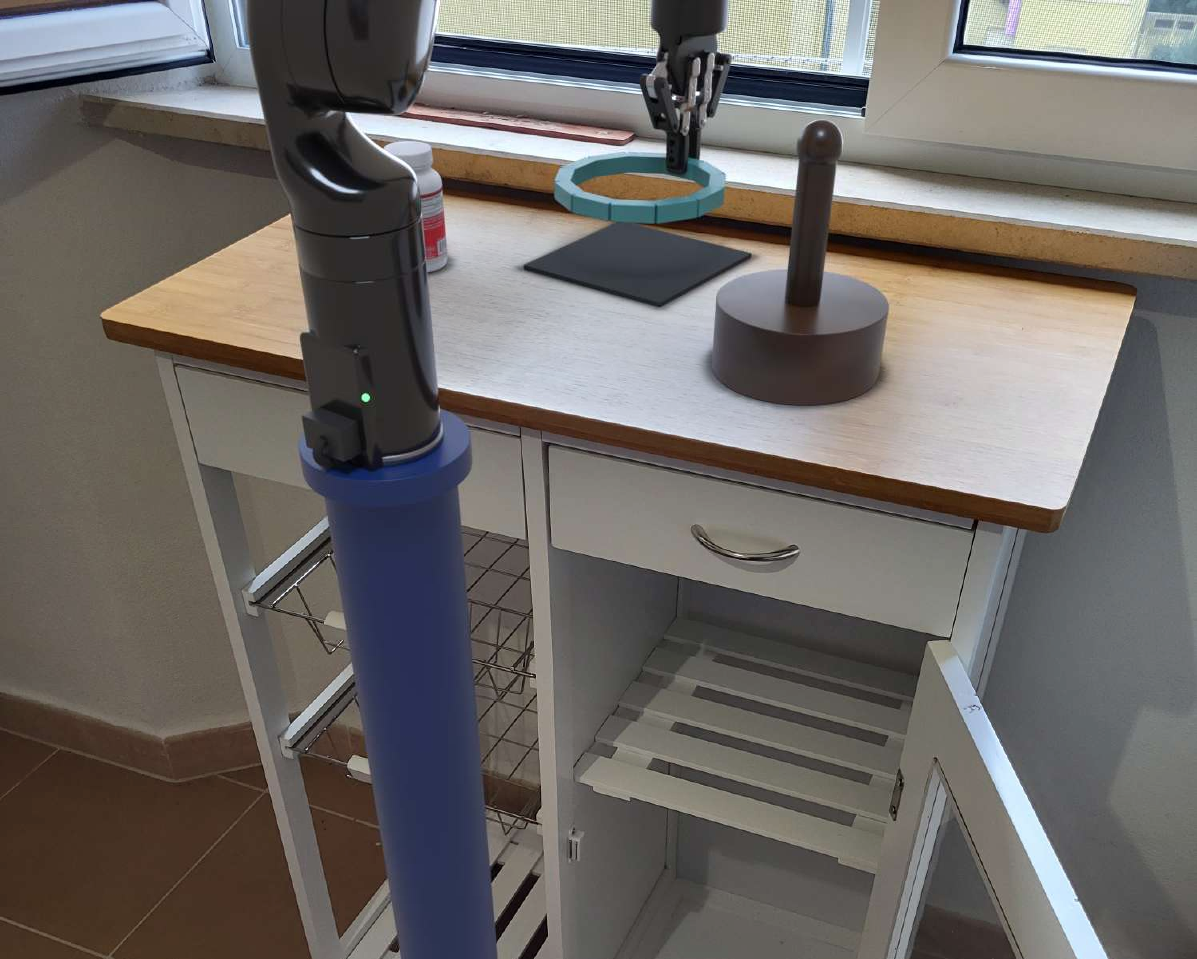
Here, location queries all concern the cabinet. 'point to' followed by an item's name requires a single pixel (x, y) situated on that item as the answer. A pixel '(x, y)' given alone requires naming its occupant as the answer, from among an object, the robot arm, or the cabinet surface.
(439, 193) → the pill bottle
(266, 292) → the cabinet surface
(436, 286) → the cabinet surface
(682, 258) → the mat
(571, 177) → the hoop
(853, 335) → the peg stand
